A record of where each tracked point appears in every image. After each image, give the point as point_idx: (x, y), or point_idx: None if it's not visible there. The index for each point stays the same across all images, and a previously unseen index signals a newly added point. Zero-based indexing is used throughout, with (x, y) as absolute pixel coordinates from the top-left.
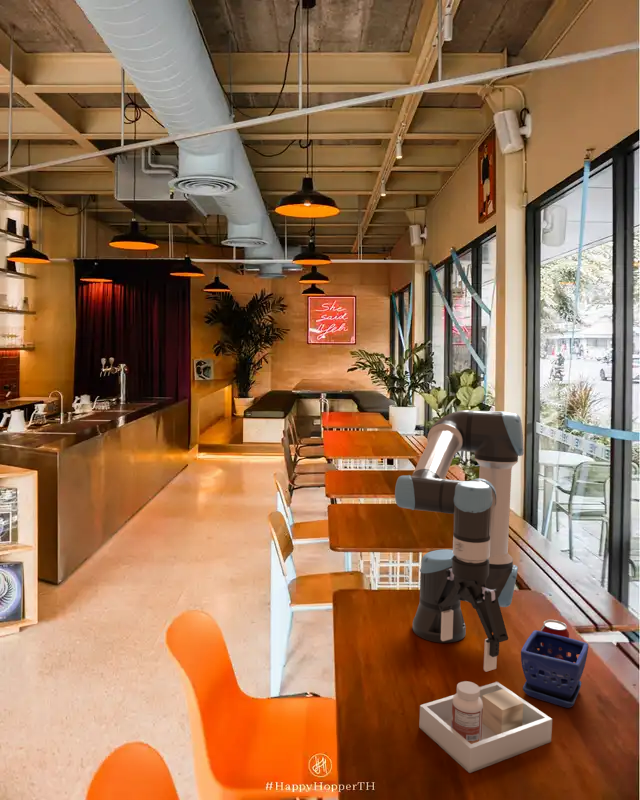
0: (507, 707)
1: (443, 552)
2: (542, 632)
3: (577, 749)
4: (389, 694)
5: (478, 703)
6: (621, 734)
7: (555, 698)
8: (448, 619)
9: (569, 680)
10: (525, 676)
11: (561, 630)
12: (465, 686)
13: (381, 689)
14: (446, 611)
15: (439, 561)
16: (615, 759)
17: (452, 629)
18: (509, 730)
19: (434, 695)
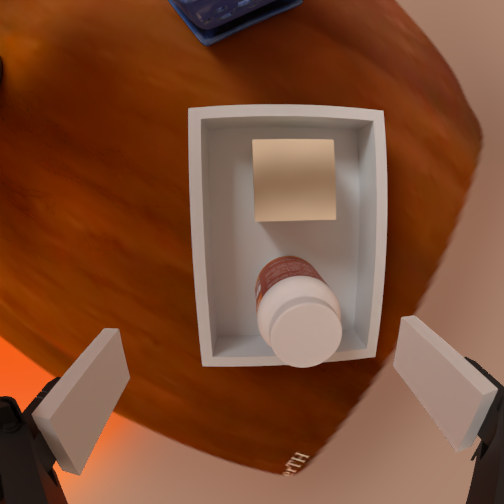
0: (332, 197)
1: None
2: None
3: (397, 98)
4: (92, 325)
5: (336, 312)
6: (385, 4)
7: (272, 13)
8: (84, 418)
9: None
10: (204, 27)
11: None
12: (298, 342)
13: (75, 328)
14: (60, 454)
15: None
16: (433, 71)
17: (100, 353)
18: (376, 240)
19: (119, 241)
